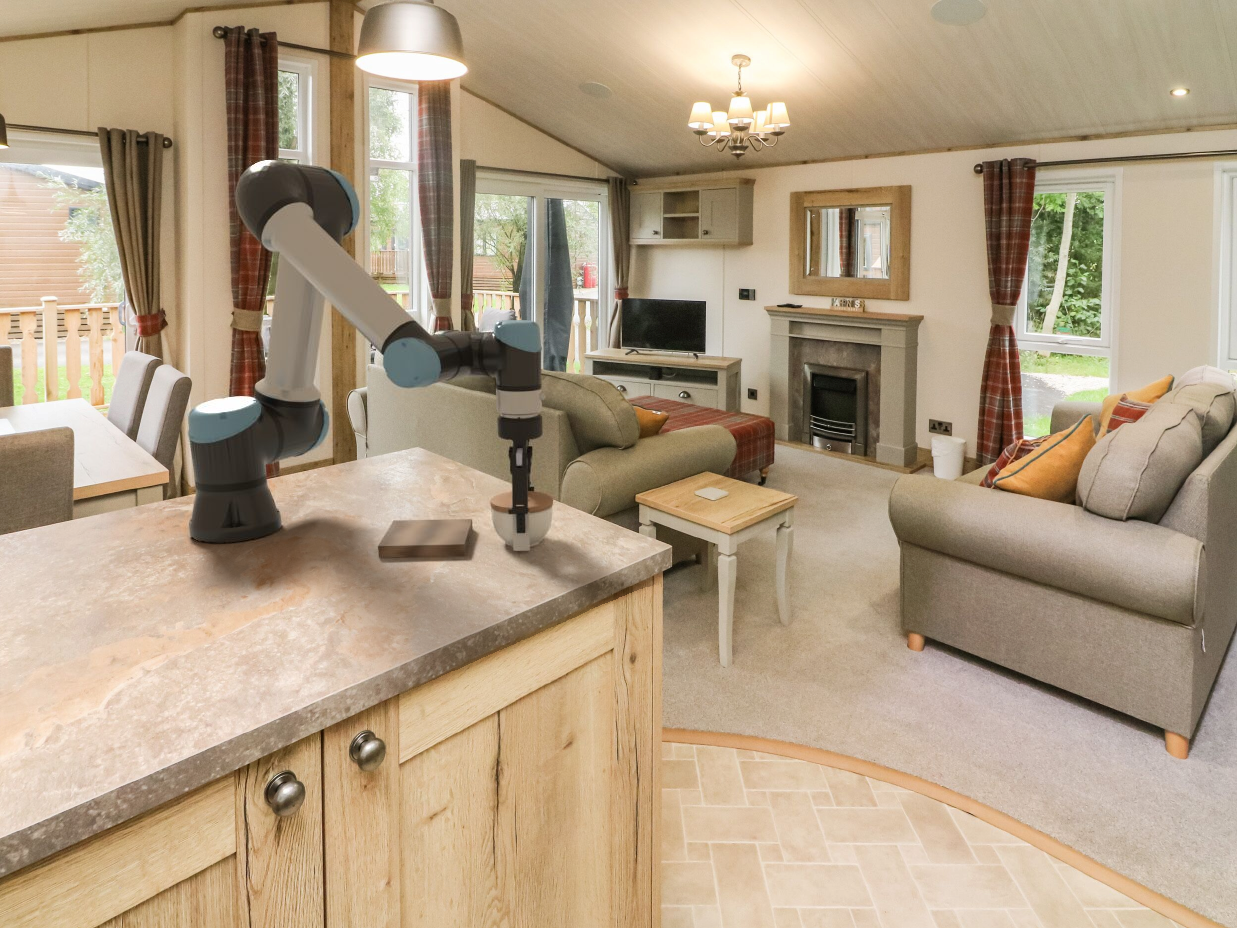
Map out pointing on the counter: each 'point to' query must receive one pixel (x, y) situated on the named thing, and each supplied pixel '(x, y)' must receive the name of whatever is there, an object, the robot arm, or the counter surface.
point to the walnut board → (426, 538)
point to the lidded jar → (538, 516)
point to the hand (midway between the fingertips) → (522, 539)
